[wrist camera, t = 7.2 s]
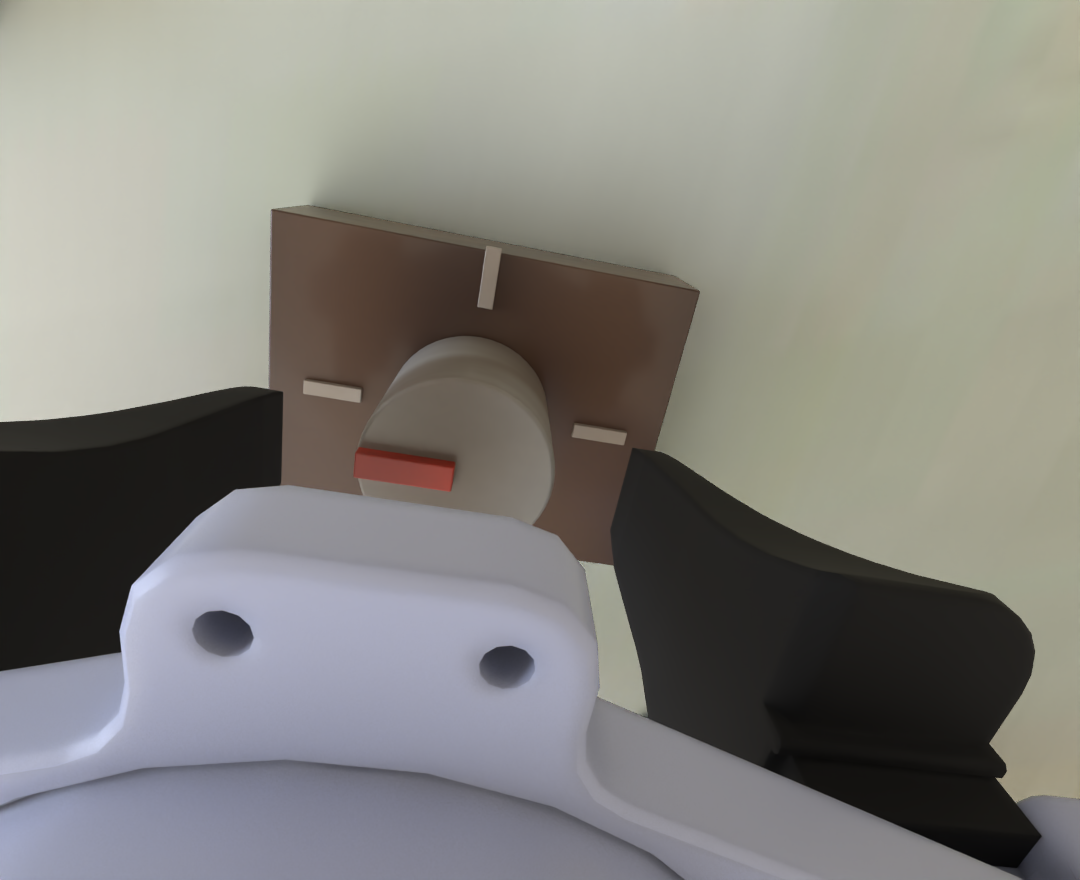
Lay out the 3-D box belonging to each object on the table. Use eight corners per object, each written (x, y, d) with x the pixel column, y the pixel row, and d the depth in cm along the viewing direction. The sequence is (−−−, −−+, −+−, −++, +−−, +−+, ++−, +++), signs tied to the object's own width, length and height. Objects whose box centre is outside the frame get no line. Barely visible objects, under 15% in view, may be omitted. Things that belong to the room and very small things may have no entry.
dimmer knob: (561, 350, 15) (575, 402, 11) (532, 492, 16) (535, 577, 13) (397, 321, 14) (358, 366, 11) (383, 470, 16) (345, 551, 12)
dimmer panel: (676, 272, 17) (704, 288, 14) (608, 524, 20) (621, 573, 17) (306, 200, 16) (267, 204, 13) (297, 479, 19) (264, 523, 16)
